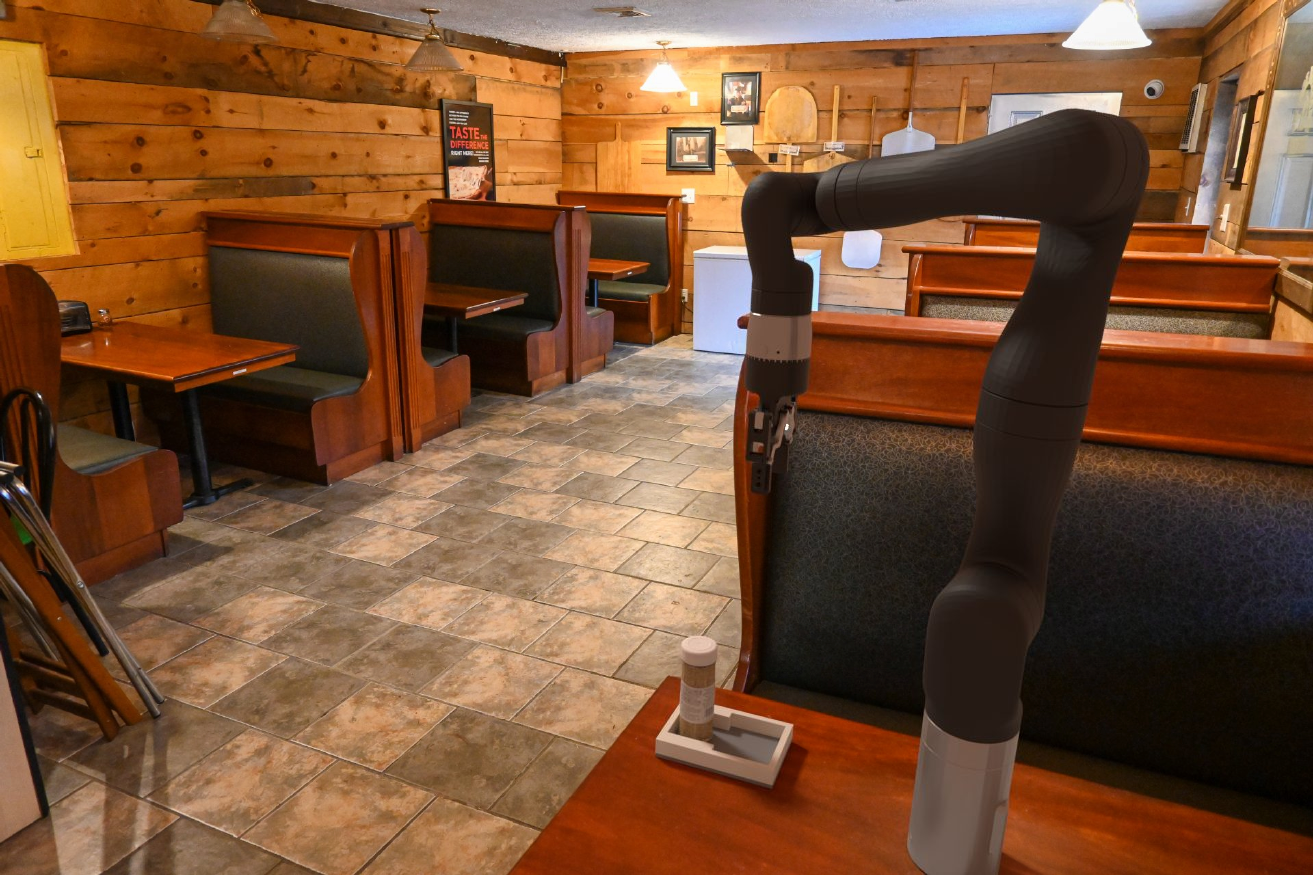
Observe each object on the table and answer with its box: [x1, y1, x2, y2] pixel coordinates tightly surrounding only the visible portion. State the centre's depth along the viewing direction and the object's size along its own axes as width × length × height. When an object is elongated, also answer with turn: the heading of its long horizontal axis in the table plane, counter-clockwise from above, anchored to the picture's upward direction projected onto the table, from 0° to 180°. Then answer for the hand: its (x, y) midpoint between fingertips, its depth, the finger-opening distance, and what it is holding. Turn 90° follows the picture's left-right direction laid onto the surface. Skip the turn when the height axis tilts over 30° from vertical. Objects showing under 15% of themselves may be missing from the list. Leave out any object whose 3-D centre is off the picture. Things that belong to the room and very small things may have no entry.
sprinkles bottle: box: [678, 635, 719, 743], centre depth 109 cm, size 5×5×14 cm
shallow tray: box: [654, 702, 794, 790], centre depth 109 cm, size 15×10×2 cm, turn 68°
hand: (769, 482), depth 105 cm, fingers open, 8 cm apart
